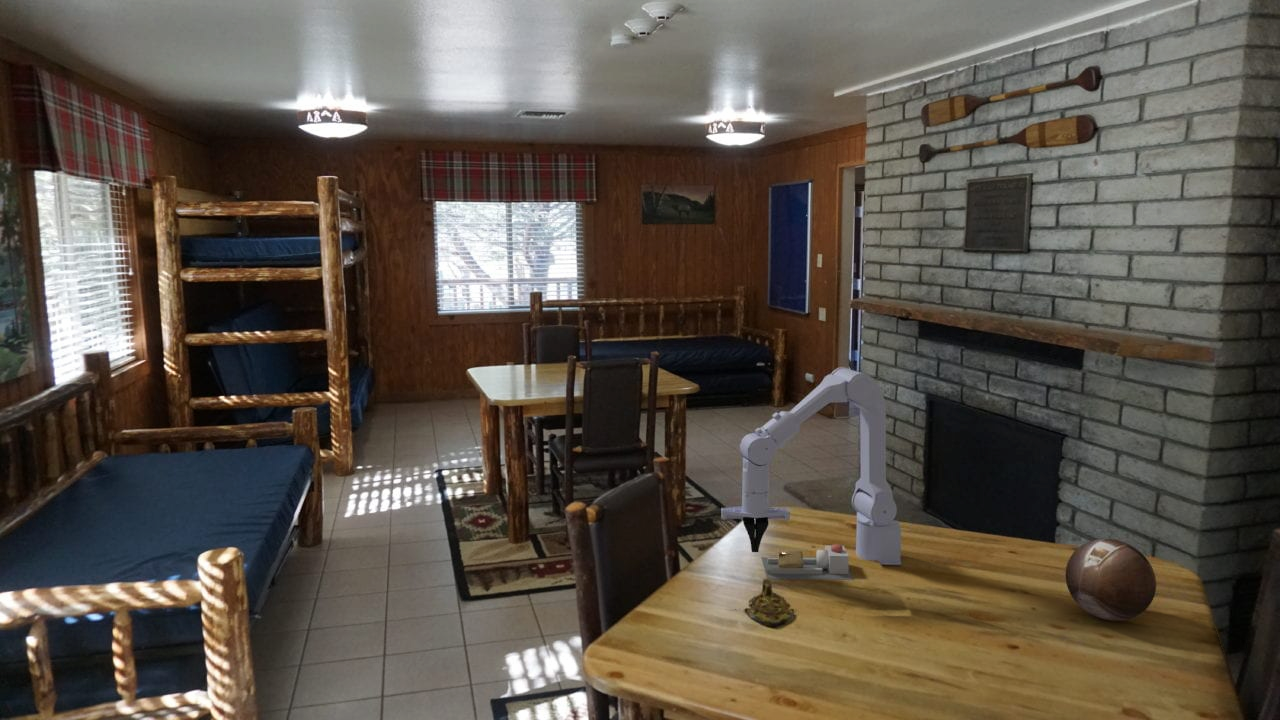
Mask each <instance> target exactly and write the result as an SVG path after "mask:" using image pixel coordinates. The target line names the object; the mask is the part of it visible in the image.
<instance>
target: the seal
mask: <svg viewBox="0 0 1280 720" xmlns="http://www.w3.org/2000/svg"><path fill="white" fill-rule="evenodd" d="M747 604H748V607H746V608H745V609H744V610H745V613H746V615H747V616H748V618H749V619H750V620H752V621H754V622H756V623H757V624H760V625H763V626H764V627H766V628H767V627H768V628H776V627H778V626H779V627H780V626H781V625H787V624H788V623H790V622H791V621H793V619H794V615H795V610H794V608H790V607H791V606H790V603H788V602H786V600H785V597H784V596H777V593H773V587H772V582H771V579H767V578H765V579H764V578H763V580H762V588H761V592H760V594H758V595H756V596H753V597H752V598H751V599H749V600H748V603H747Z"/></svg>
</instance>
